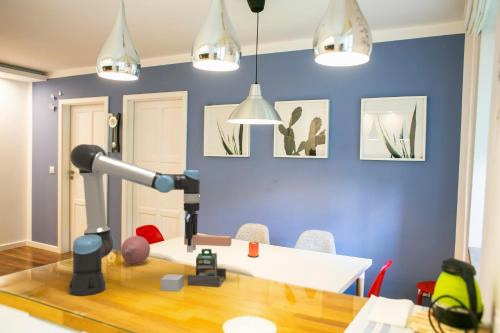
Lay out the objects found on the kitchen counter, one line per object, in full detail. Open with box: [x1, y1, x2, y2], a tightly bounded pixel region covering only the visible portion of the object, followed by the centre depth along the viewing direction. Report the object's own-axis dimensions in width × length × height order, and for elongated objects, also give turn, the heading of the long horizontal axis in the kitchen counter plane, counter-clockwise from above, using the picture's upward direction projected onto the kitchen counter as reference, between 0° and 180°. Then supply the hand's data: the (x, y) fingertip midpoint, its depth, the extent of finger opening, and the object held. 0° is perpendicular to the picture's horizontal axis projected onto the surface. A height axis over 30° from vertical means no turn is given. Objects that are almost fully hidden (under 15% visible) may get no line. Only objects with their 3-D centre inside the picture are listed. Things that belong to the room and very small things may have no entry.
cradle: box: [187, 267, 227, 288], centre depth 187 cm, size 14×15×4 cm
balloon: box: [120, 235, 151, 265], centre depth 215 cm, size 15×20×15 cm
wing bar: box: [183, 234, 232, 247], centre depth 187 cm, size 4×22×4 cm, turn 82°
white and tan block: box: [160, 273, 185, 292], centre depth 177 cm, size 8×8×5 cm
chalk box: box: [195, 248, 218, 276], centre depth 187 cm, size 9×9×15 cm
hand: (191, 250), depth 188 cm, fingers closed on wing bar, 4 cm apart
